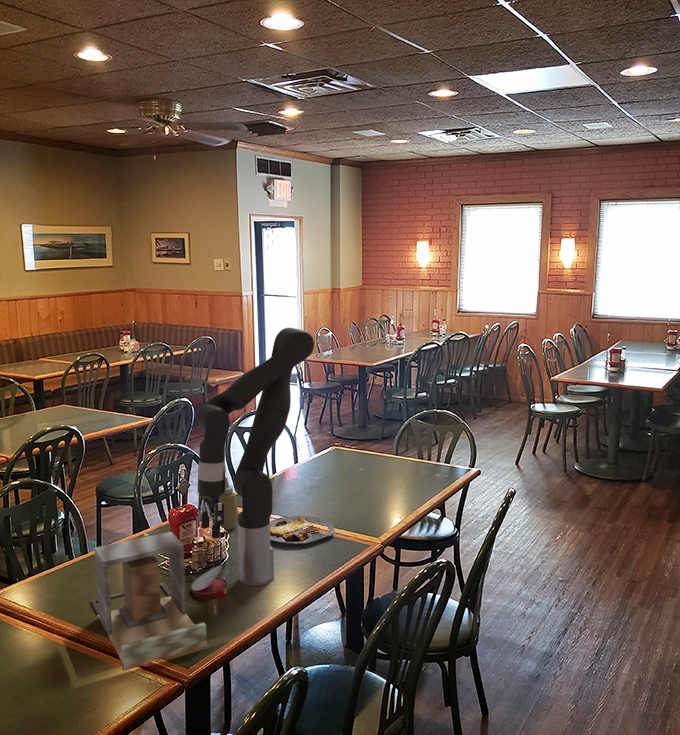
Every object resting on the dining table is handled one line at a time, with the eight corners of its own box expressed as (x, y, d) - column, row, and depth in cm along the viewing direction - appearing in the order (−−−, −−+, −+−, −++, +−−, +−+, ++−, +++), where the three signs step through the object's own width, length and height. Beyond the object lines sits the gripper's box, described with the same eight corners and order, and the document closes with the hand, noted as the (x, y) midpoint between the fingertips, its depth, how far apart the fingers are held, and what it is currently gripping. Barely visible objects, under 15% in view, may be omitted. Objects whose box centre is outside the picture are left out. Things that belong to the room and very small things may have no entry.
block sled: (156, 602, 193) (153, 548, 191) (167, 617, 186) (164, 560, 183) (119, 612, 188) (115, 556, 186) (128, 627, 181) (124, 569, 178)
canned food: (214, 618, 198) (203, 596, 192) (188, 605, 203) (177, 583, 197) (240, 587, 205) (230, 565, 199) (214, 575, 210) (204, 552, 204)
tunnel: (163, 589, 205) (160, 519, 202) (206, 646, 175) (203, 566, 172) (91, 607, 195) (86, 534, 192) (124, 670, 165) (118, 586, 162)
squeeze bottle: (242, 523, 253) (241, 474, 250) (233, 532, 246) (231, 482, 243) (221, 521, 255) (219, 473, 252) (211, 530, 248) (209, 480, 245)
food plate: (286, 554, 227) (286, 543, 227) (247, 533, 245) (246, 523, 245) (347, 536, 243) (347, 526, 243) (305, 517, 261) (305, 508, 261)
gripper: (234, 481, 195) (232, 539, 197) (215, 468, 207) (214, 522, 209) (207, 484, 191) (206, 543, 193) (190, 471, 203) (189, 526, 205)
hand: (210, 532), depth 201 cm, fingers open, 8 cm apart
